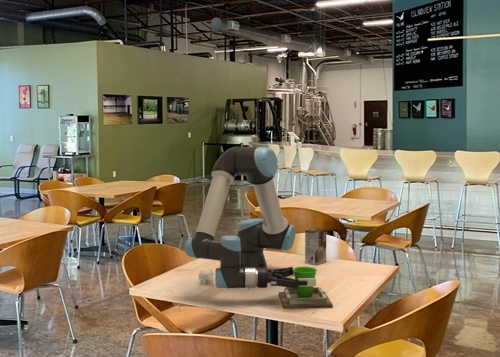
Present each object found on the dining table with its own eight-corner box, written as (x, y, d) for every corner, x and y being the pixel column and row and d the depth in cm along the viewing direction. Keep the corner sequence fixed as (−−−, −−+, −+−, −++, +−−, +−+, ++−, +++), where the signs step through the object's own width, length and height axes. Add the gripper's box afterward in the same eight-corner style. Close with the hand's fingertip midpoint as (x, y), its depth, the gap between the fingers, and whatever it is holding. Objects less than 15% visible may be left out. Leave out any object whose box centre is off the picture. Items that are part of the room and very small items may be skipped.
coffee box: (315, 260, 273) (316, 227, 271) (326, 262, 268) (327, 229, 267) (304, 263, 266) (304, 230, 265) (314, 265, 262) (315, 232, 260)
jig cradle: (278, 294, 216) (278, 286, 216) (324, 294, 217) (324, 286, 217) (283, 308, 200) (283, 299, 200) (332, 307, 201) (332, 299, 201)
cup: (301, 303, 203) (301, 273, 202) (288, 296, 211) (288, 268, 210) (321, 299, 207) (321, 270, 206) (308, 293, 215) (308, 265, 214)
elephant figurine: (206, 287, 227) (206, 272, 226) (193, 283, 232) (193, 269, 231) (218, 283, 232) (218, 269, 231) (205, 280, 237) (205, 266, 236)
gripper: (254, 278, 220) (307, 277, 221) (258, 297, 195) (318, 297, 196) (254, 259, 219) (307, 259, 220) (258, 277, 194) (318, 276, 195)
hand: (312, 277), depth 208 cm, fingers open, 13 cm apart
